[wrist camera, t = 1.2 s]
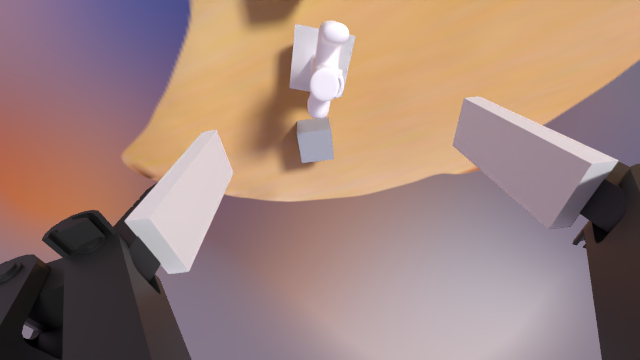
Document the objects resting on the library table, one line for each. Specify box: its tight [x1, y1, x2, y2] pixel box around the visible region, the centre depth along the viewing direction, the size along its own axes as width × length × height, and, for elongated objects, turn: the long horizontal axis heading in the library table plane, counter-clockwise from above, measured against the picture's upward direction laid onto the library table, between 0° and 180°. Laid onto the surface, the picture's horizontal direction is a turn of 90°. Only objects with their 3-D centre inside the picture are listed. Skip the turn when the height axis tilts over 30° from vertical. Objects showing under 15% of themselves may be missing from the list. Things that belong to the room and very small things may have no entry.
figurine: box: [289, 21, 355, 119], centre depth 26 cm, size 7×9×15 cm
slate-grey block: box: [297, 117, 334, 163], centre depth 37 cm, size 5×5×5 cm
